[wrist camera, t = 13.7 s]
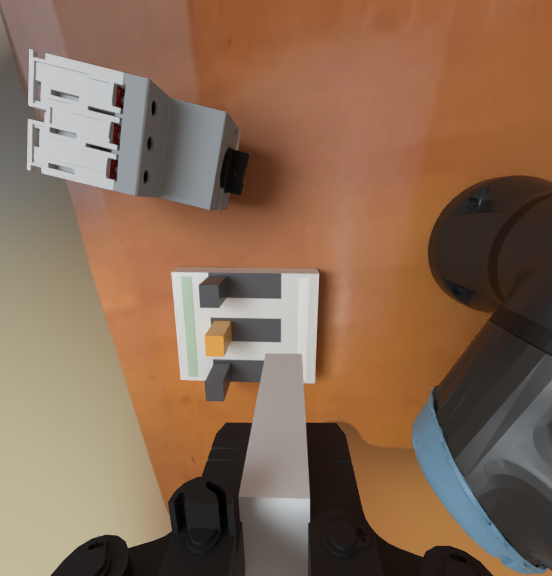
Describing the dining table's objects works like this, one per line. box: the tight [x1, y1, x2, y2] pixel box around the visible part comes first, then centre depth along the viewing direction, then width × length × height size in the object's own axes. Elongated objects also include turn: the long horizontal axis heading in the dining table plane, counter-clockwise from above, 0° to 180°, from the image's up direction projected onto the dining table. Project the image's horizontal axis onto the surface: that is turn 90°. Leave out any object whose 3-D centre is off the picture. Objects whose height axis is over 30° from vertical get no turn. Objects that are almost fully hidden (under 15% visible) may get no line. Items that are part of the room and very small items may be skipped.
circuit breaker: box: [27, 49, 249, 210], centre depth 28 cm, size 8×14×15 cm, turn 77°
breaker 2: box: [205, 362, 231, 401], centre depth 37 cm, size 2×2×4 cm
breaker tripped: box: [205, 321, 232, 357], centre depth 35 cm, size 2×2×4 cm
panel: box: [171, 267, 319, 383], centre depth 39 cm, size 17×14×3 cm
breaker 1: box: [199, 275, 228, 308], centre depth 34 cm, size 2×2×4 cm
